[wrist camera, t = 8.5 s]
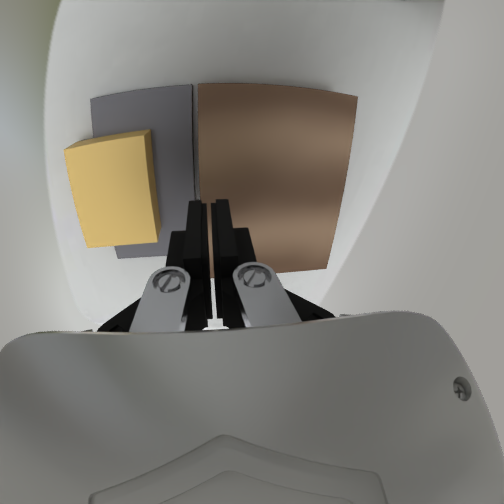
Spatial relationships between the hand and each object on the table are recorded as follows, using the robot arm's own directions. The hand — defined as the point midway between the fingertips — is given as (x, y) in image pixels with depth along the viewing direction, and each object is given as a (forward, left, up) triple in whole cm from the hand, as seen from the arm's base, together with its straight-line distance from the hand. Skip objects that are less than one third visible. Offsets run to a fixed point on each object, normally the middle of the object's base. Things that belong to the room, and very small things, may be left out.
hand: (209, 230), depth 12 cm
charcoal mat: (+1, -5, -10) cm, 11 cm away
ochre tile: (+1, -7, -7) cm, 10 cm away
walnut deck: (+1, +5, -10) cm, 11 cm away
